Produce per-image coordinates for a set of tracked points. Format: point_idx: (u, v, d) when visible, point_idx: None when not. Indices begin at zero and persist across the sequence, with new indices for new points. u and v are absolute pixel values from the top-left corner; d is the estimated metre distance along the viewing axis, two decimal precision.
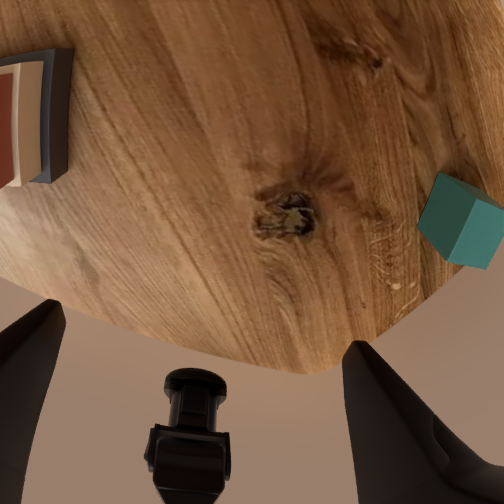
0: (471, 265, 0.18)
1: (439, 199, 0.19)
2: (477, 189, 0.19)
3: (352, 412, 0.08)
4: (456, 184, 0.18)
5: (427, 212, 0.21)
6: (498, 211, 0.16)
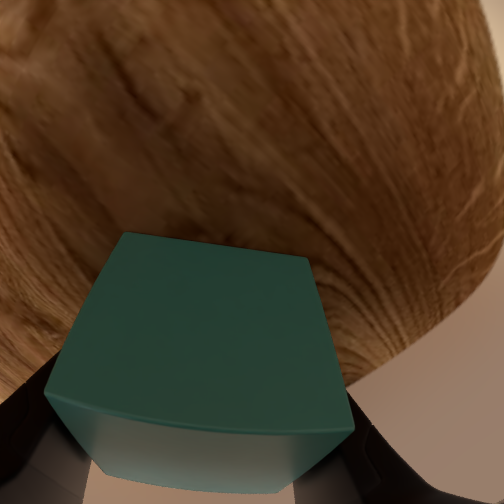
0: (203, 490, 0.06)
1: None
2: (275, 275, 0.07)
3: None
4: (91, 293, 0.06)
5: None
6: (221, 437, 0.04)
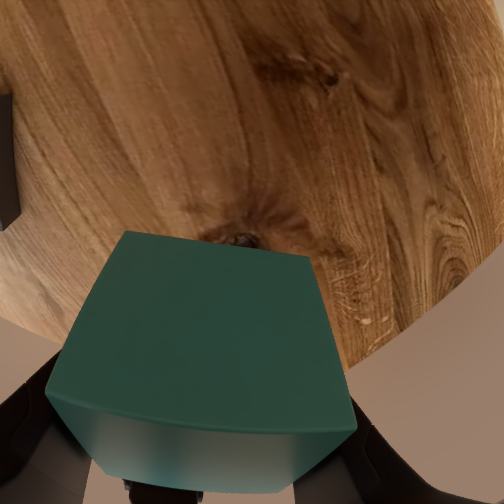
0: (204, 490, 0.06)
1: None
2: (276, 274, 0.07)
3: None
4: (92, 292, 0.06)
5: None
6: (224, 437, 0.04)
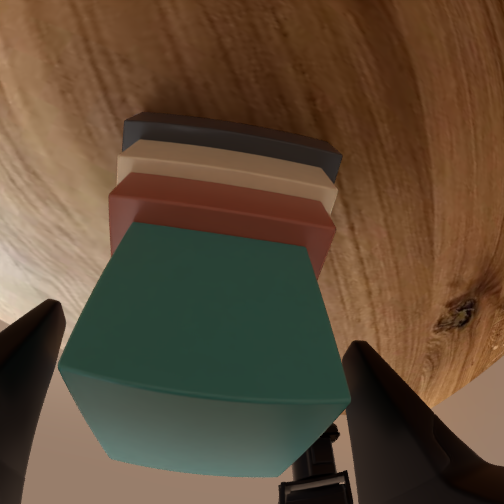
0: (206, 474, 0.07)
1: None
2: (275, 261, 0.08)
3: (352, 412, 0.08)
4: (102, 277, 0.06)
5: None
6: (226, 407, 0.04)
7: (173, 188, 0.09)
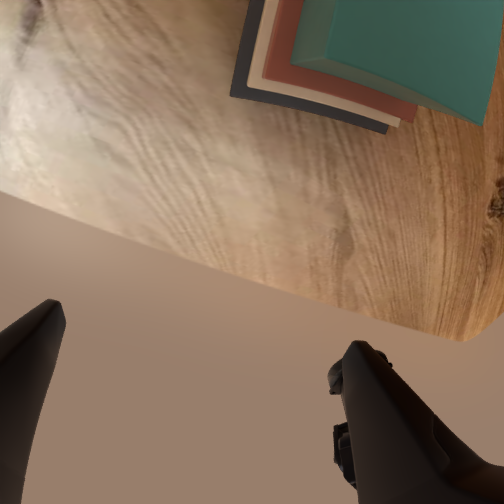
0: (430, 93, 0.06)
1: None
2: None
3: (352, 412, 0.08)
4: None
5: (300, 22, 0.08)
6: None
7: None
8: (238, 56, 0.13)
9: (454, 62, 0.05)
